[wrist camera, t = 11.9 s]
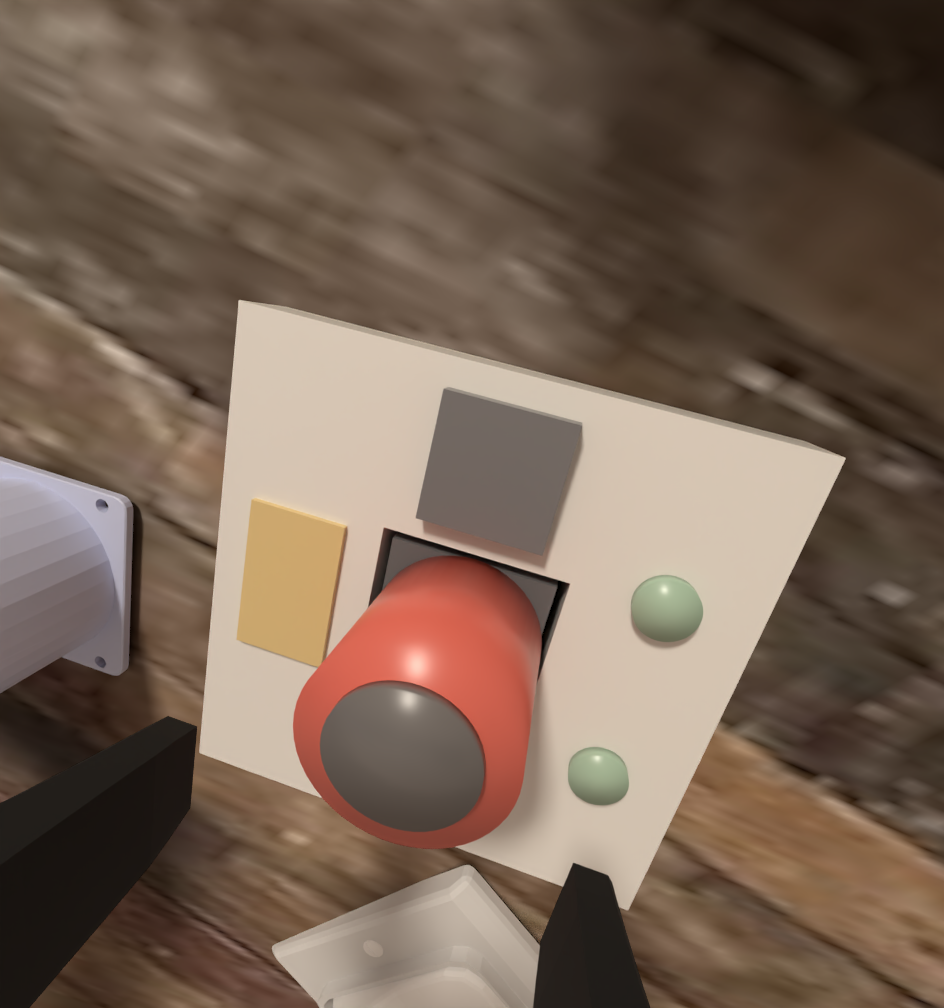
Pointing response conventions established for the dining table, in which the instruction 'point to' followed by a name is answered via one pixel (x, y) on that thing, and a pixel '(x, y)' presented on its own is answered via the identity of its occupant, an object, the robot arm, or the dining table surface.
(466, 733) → the cap
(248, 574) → the panel
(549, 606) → the button
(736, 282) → the dining table surface
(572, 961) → the robot arm
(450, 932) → the light switch
